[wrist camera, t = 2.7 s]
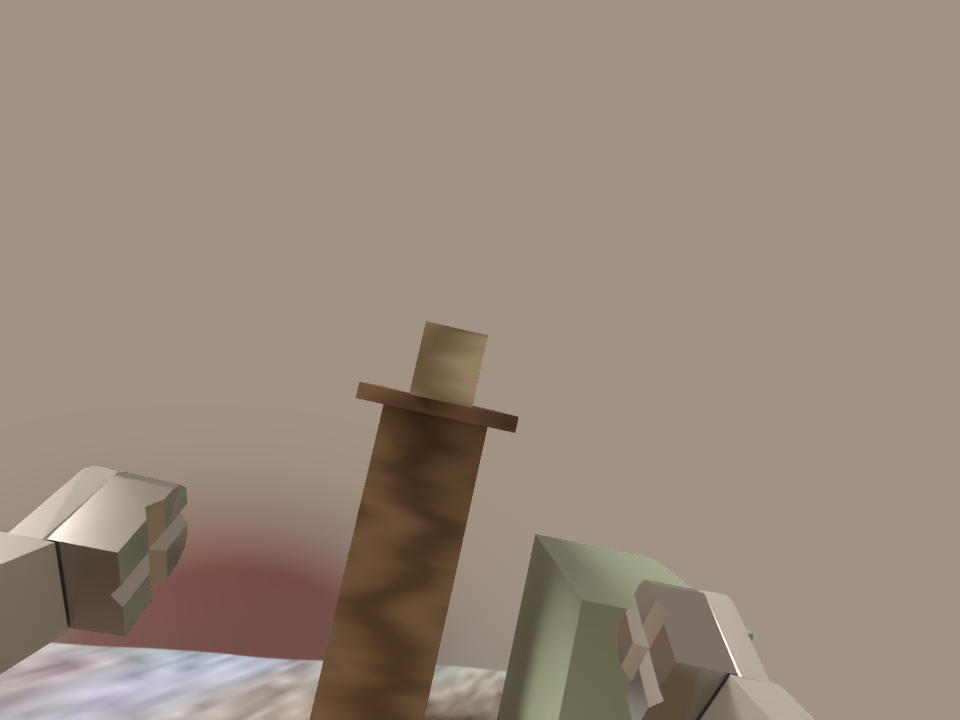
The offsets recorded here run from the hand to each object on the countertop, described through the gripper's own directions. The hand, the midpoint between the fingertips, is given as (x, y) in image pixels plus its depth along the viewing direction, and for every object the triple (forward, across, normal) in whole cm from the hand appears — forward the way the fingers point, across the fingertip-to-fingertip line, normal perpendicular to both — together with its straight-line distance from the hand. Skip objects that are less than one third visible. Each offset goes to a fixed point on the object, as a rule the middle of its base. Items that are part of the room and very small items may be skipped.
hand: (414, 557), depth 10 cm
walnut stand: (+15, 0, +35) cm, 38 cm away
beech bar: (+23, 0, +10) cm, 26 cm away
